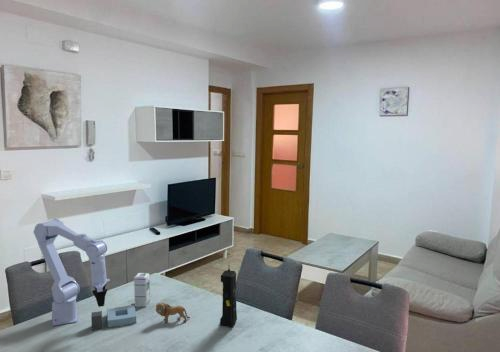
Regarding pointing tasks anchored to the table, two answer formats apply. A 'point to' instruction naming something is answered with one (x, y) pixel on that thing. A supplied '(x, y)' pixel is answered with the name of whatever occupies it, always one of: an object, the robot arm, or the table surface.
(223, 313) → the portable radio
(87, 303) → the table surface
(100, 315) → the plug
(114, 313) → the socket plate
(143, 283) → the syrup box
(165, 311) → the lion figurine
